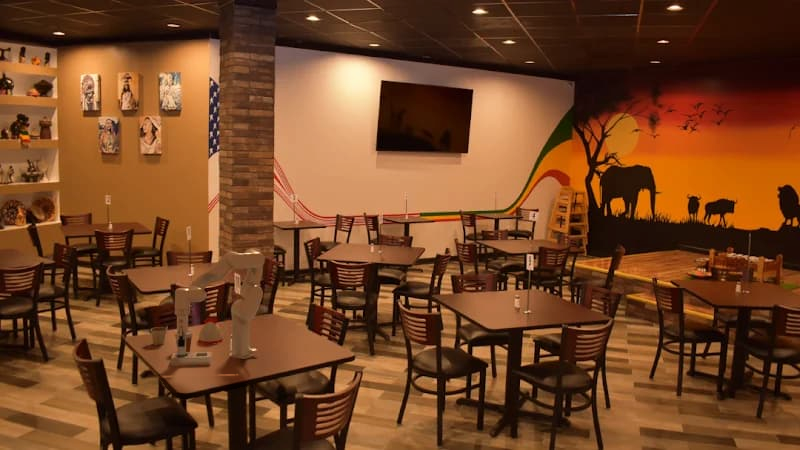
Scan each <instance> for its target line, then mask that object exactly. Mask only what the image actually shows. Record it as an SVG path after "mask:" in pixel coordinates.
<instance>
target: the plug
mask: <svg viewBox="0 0 800 450" xmlns="http://www.w3.org/2000/svg"><path fill="white" fill-rule="evenodd" d="M178 339H179V334H178V336H177V337H175V340H176V341H177V343H176V349H177V350H176V351H177V355H185V354H186V334H184V339H185V346H184V347H178ZM176 341H175V342H176Z"/></svg>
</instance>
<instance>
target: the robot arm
mask: <svg viewBox="0 0 800 450" xmlns="http://www.w3.org/2000/svg"><path fill="white" fill-rule="evenodd" d="M265 261H266V260H265V255H264V254H263V253H261V252H260V251H257V250H255V249H246V250H244V253H239V252H236V251H233V250H231V251H228V252H226V253H225V254H224V255H223V256H222V257H221V258H220V259H219V260H218V261H217V262H216V263H215V264H214V265H213V266H212V267H211V268H210V269H208V270H207V271H205V272H203V273H202V274H201V275H199V276H198V277H197V278H196V279H194V280H193V281H192V283H190V284H189V286H188V287H179V288H176V289H175V290H174V315H175V316H176V332H177V333H178V334H179V339H178V347H184V346H185V339H184V334H187V332H188V331H189V315H191V314H190V313H191V303H200V302H201V303H202V302H204V301H205V300H206V298H207V293H206V291H205V289H206V288H207V287H209V286H210V285H212V284H214V283H218V282H221V281H222V280H224V279H225V278H226V276H228V275H229V274H230V273H231V271H233V270H234V269H235V270H246V274H245V277H244V280H243V282H242V284H241V287H240V290H239V293H240V296H241V297H242V298H243V299H237V300H235V301H234V302H233V303H232V305H231V308H230V314H231V315H230V316H231V320H232V321H231V322H232V323H231V324H232V325H231V352H230V353H228V356H229V357H231V358H235V359H236V358H237V359H240V360H247V359H250V358H251V357H252V356H253V354H258V349H256V348H251V346H250V338H251V337H250V330H251V329H250V328H251V324H250V321H251V320H253V319H254V318H255V317H256V314H257V312H258V310H259V307H260V305H261V302H262V299H263V297H264V296H263V295H264V293H263V292H264V291H263V289H262V287H261V286H260V283H261V280H262V277H263V273H264V271H263V270H264V269H263V267H264V266H263V265H264V264H265Z"/></svg>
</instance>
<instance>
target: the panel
mask: <svg viewBox="0 0 800 450" xmlns="http://www.w3.org/2000/svg"><path fill="white" fill-rule="evenodd" d="M212 360H213V351H190V352H186V354H185V355H177V352H173V353H172V355H171V358H170V366H172V367H173V366H176V367H179V366H180V367H182V366H203V365H206V366H211V364H212Z"/></svg>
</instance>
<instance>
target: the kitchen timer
mask: <svg viewBox="0 0 800 450" xmlns="http://www.w3.org/2000/svg"><path fill="white" fill-rule="evenodd" d="M213 317H214V318H213ZM218 321H219V318H218V319H217V317H216V316H210V315H209V316H208V317H206V319H204V324H203V326H202V327H201V330H200V332H199V335H198V343H199V344H202V345H203V344H204V345H215V344H214V343H216V344H219V343H218V342H220V343H222V342H223V341H222V340H223V339H224V338H223V333H222V330H221V327H220V326H219V325H218V324H217V322H218ZM221 341H222V342H221Z"/></svg>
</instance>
